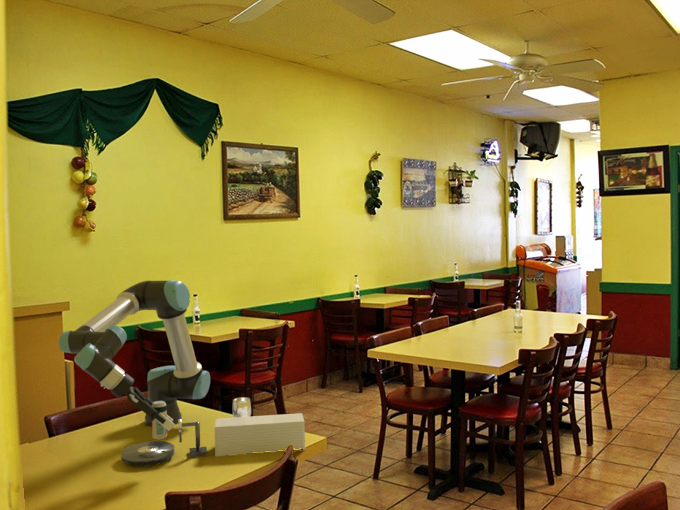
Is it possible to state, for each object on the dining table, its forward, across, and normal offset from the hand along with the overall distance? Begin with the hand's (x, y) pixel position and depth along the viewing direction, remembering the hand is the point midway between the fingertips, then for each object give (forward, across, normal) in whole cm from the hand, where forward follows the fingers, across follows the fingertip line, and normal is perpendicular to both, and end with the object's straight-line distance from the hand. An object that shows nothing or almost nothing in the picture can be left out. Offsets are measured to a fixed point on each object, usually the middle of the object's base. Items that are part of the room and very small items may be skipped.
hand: (171, 425), depth 213 cm
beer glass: (+31, -23, +9) cm, 40 cm away
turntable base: (+6, -13, -16) cm, 21 cm away
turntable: (+4, -13, -15) cm, 20 cm away
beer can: (0, 0, -6) cm, 6 cm away
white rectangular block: (+34, -9, +12) cm, 37 cm away
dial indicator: (+16, -11, -5) cm, 20 cm away
